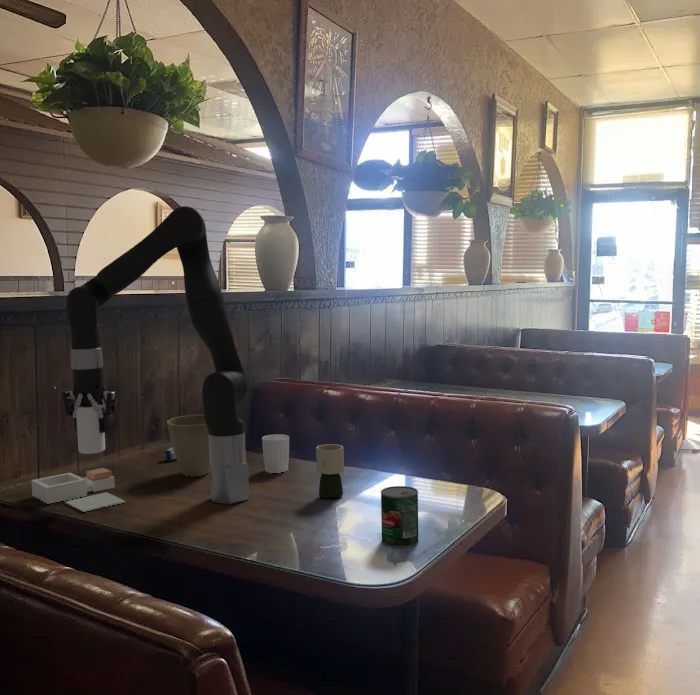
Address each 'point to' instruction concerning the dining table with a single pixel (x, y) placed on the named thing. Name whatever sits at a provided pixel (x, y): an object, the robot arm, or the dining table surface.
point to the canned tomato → (399, 516)
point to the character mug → (330, 469)
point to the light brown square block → (98, 473)
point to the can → (89, 431)
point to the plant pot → (190, 444)
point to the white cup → (276, 453)
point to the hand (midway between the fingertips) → (91, 431)
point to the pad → (95, 502)
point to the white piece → (68, 487)
